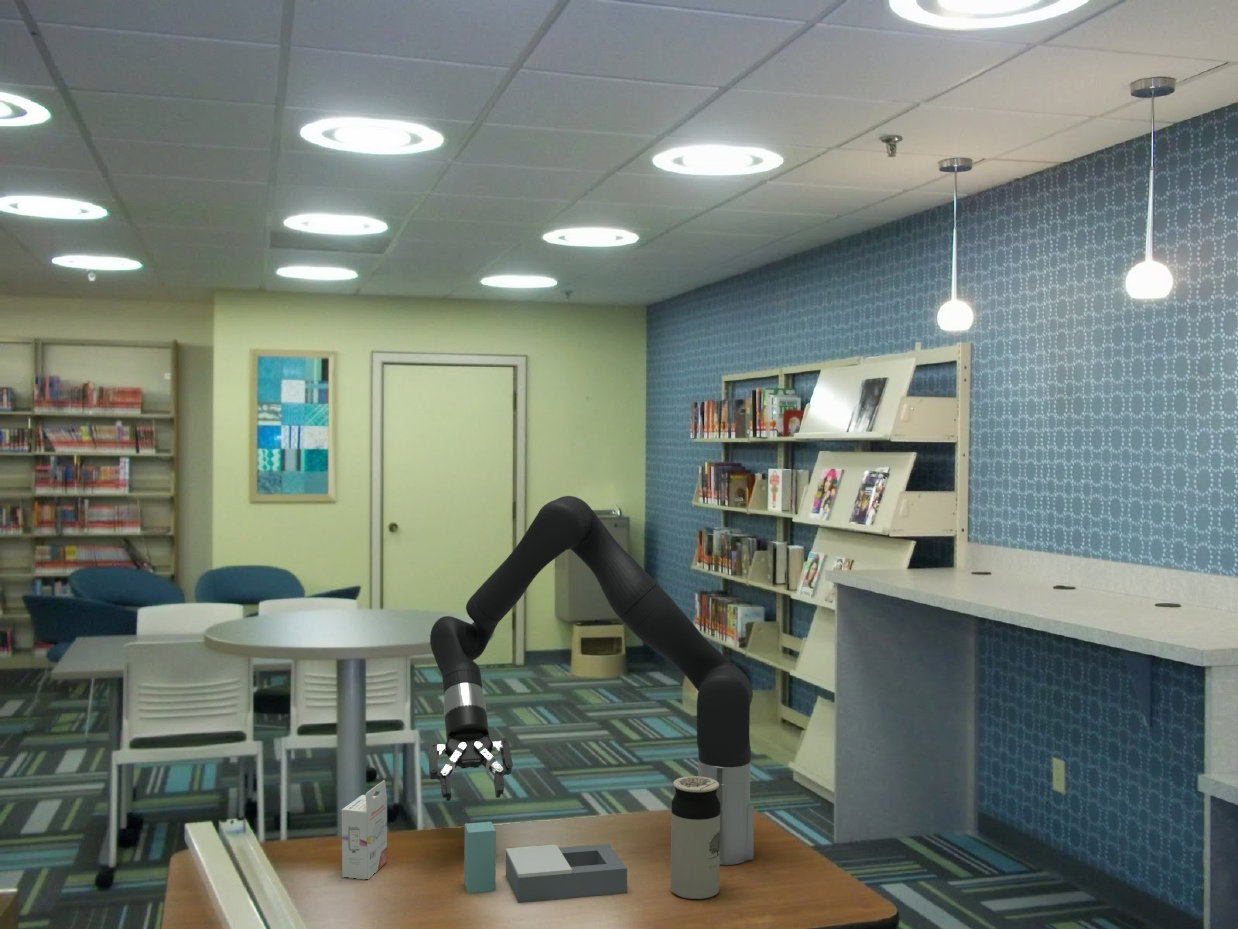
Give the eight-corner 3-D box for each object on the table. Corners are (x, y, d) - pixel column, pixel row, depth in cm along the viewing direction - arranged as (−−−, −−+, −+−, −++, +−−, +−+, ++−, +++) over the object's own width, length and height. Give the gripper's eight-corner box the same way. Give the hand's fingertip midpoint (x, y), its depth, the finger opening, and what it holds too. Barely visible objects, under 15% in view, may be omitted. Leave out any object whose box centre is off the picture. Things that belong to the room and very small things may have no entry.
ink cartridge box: (361, 860, 210) (361, 777, 210) (387, 862, 209) (388, 778, 209) (340, 878, 202) (340, 791, 201) (367, 881, 201) (368, 793, 200)
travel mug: (660, 891, 197) (661, 782, 197) (691, 878, 203) (692, 772, 203) (698, 905, 192) (699, 793, 192) (728, 891, 198) (730, 782, 197)
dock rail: (608, 866, 208) (608, 840, 208) (627, 892, 197) (627, 864, 197) (505, 875, 204) (505, 848, 204) (518, 902, 192) (518, 874, 192)
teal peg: (491, 881, 201) (491, 821, 201) (495, 891, 197) (495, 830, 197) (464, 883, 200) (464, 823, 200) (467, 893, 196) (468, 832, 196)
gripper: (427, 705, 212) (433, 789, 201) (507, 701, 215) (518, 783, 204) (424, 728, 217) (430, 810, 206) (502, 723, 221) (512, 805, 210)
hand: (473, 797), depth 205 cm, fingers open, 8 cm apart
